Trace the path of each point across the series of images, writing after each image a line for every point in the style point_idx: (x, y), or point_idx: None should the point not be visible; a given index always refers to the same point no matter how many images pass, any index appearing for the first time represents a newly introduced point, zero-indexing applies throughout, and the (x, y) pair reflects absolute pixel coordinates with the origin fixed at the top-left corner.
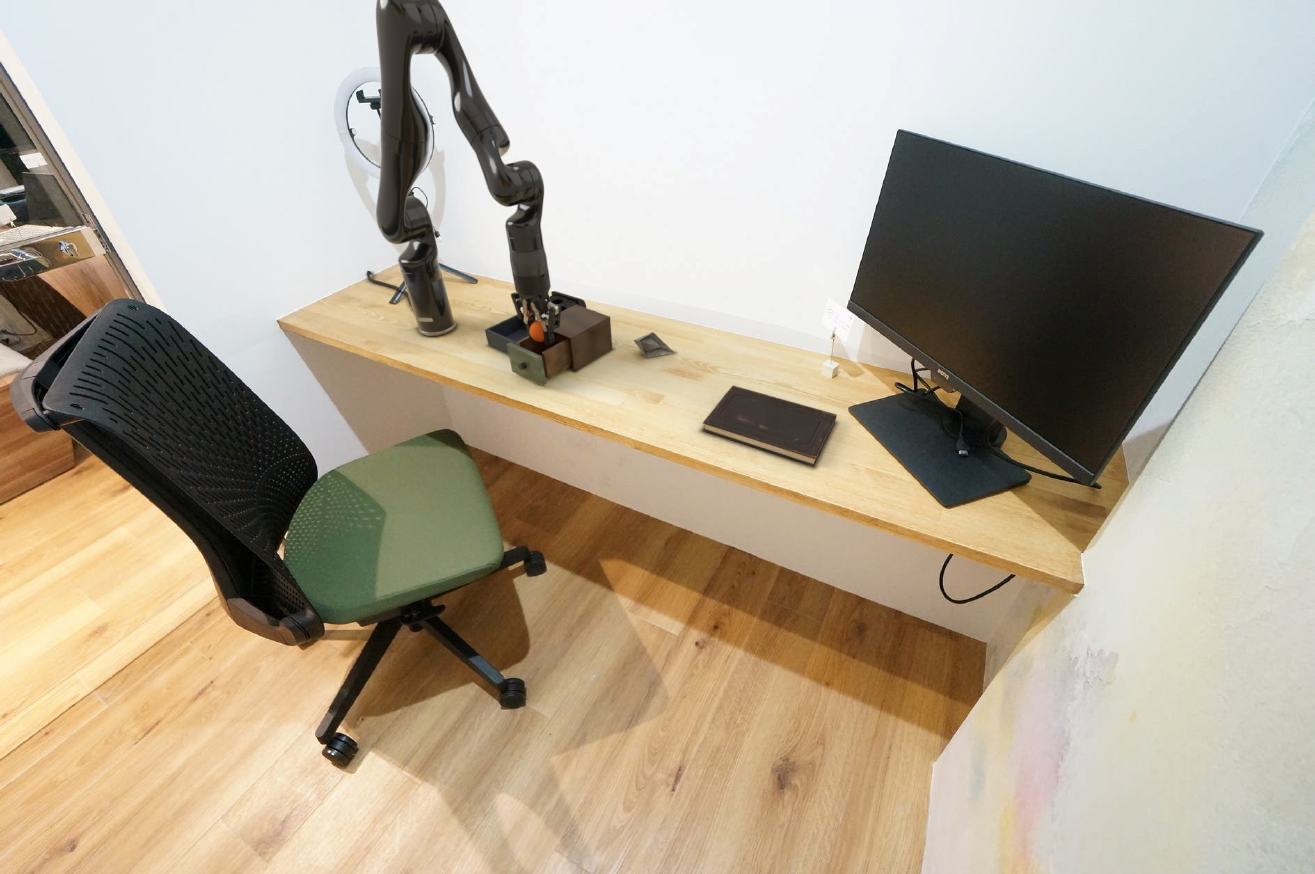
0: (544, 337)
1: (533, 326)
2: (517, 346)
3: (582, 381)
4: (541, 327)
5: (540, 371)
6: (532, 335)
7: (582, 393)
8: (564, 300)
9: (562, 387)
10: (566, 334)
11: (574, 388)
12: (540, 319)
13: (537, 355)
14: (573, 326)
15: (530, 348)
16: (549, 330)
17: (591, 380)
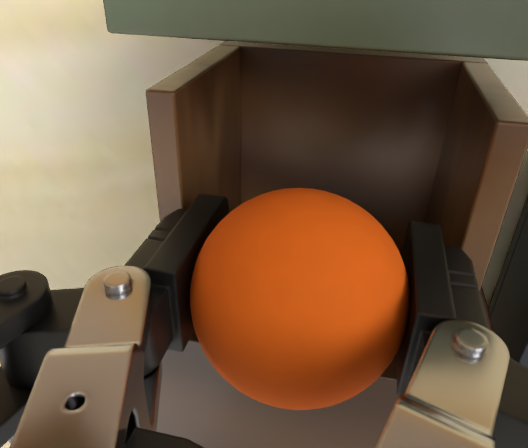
0: (196, 230)
1: (293, 290)
2: (449, 34)
3: (123, 148)
4: (207, 308)
5: None
6: (305, 199)
7: (41, 64)
8: None
9: (151, 49)
10: (177, 352)
11: (101, 78)
12: (51, 367)
13: (139, 14)
14: (227, 439)
15: (453, 182)
16: (40, 275)
17: (102, 175)
